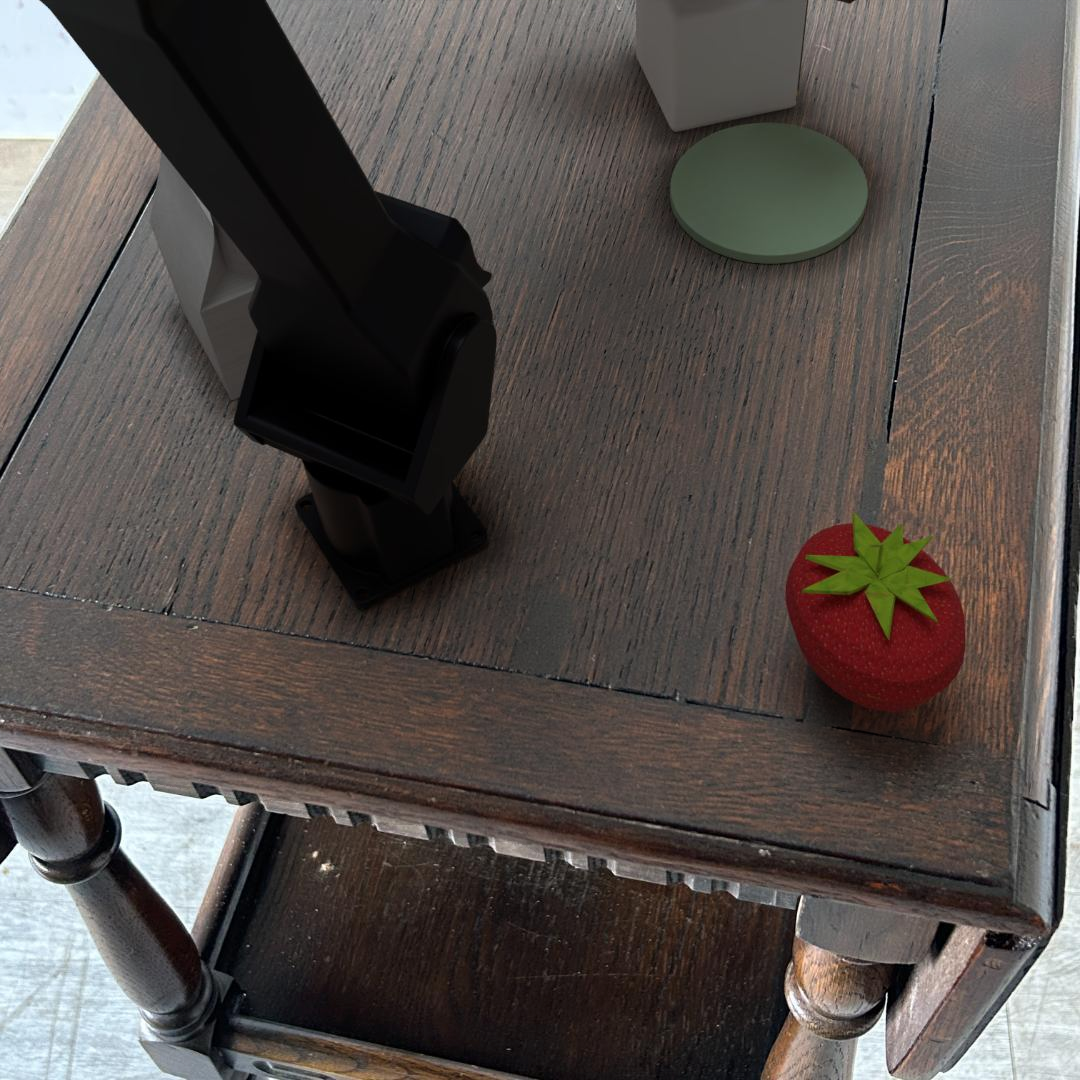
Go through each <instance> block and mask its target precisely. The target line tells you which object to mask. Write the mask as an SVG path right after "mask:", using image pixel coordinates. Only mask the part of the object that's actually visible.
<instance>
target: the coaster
mask: <svg viewBox="0 0 1080 1080" xmlns="http://www.w3.org/2000/svg"><path fill="white" fill-rule="evenodd" d="M868 197H869V187H868V181H867V178H866V175H865V172H864V170H863V168H862V166H861V164H860V163H859V161H858V160H857V159H856V157H855V156H854V155H853V154H852V153H851V152H850V151H849V150H848V149H847V148H845V146H843V145H842V144H840V143H839V142H838V141H836V140H834V139H832V138H831V137H829V136H827V135H825V134H823V133H821V132H818V131H816V130H814V129H813V130H812V129H809V128H806V127H803V126H799V125H794V124H788V123H782V122H781V123H780V122H754V123H744V124H739V125H734V126H730V127H727V128H723V129H721V130H718V131H715V132H713V133H710V134H709V135H707V136H705V137H703V138H702V139H700V140H698V141H697V142H695V143H694V144H693V145H692V146H691V147H689V148H688V149H687V150H686V151H685V152H684V153H683V155H682V156H680V158H679V159H678V161H677V163H676V165H675V166H674V169H673V170H672V174H671V177H670V183H669V201H670V205H671V210H672V213H673V215H674V218H675V219H676V221H677V223H678V224H679V225H680V227H681V228H682V229H683V231H685V233H686V234H687V235H688V236H690V237H691V238H692V239H693V240H694V241H696V242H697V243H698V244H700V245H701V246H702V247H704V248H706V249H708V250H710V251H712V252H714V253H715V254H716V253H717V254H719V255H722V256H724V257H726V258H730V259H734V260H737V261H741V262H746V263H752V264H753V263H754V264H766V265H767V264H769V265H770V264H771V265H772V264H773V265H774V264H775V265H776V264H777V265H778V264H789V263H794V262H800V261H805V260H808V259H812V258H814V257H818V256H820V255H823V254H825V253H827V252H829V251H831V250H833V249H835V248H837V247H838V246H839V245H841V244H842V243H844V241H846V240H847V239H848V238H849V237H850V236H851V235H852V234H854V232H855V231H856V229H857V228H858V227H859V225H860V224H861V222H862V219H863V217H864V215H865V213H866V208H867V203H868Z"/></svg>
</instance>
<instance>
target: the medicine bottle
mask: <svg viewBox="0 0 1080 1080" xmlns="http://www.w3.org/2000/svg"><path fill="white" fill-rule="evenodd" d="M808 8H809V0H635V56H636V59H637V61H638V63H639V65H640V68H641V69H642V72H643V74H644V76H645V78H646V80H647V82H648V84H649V86H650V88H651V91H652V92H653V94H654V95H653V96H655V99H656V101H657V103H658V105H659V108H660V109H661V111H662V114H663V116H664V118H665V120H666V122H667V124H668V126H669V128H670V130H671V131H672V132H675V133H678V132H682V131H687V130H692V129H696V128H701V127H706V126H711V125H716V124H721V123H725V122H729V121H735V120H739V119H743V118H749V117H754V116H757V115H763V114H768V113H773V112H777V111H782V110H786V109H787V110H788V109H792V108H794V107H796V105H797V103H798V97H799V88H800V80H801V79H800V78H801V71H802V69H801V68H802V61H803V53H804V43H805V35H806V25H807V17H808Z"/></svg>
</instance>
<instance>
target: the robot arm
mask: <svg viewBox="0 0 1080 1080" xmlns="http://www.w3.org/2000/svg"><path fill="white" fill-rule="evenodd" d="M38 1H39V2H40V3H42V4H43V5H44V6H45V7H46V8H47V9H48V10H49V11H50V12H51V13H52V15H53V16H54V17H55V19H56V20H57V21H58V22H59V24H60V25H61V26H62V27H63V28H64V30H65V31H66V32H67V33H68V35H69V36H70V37H71V39H72V40H73V41H74V43H76V45H77V46H78V48H79V49H80V50H81V51H82V52H83V54H84V55H85V57H86V58H87V59H88V60H89V62H90V63H91V64H92V65H93V67H94V68H95V69H96V70H97V72H99V74H100V76H101V77H102V78H103V79H104V80H105V82H106V83H107V84H108V86H110V87H109V88H111V90H112V91H113V92H114V93H115V94H116V96H117V97H118V98H119V99H120V101H121V102H122V104H124V106H125V107H126V108H127V110H128V111H129V112H130V114H131V115H132V116H133V117H134V119H135V120H136V121H137V123H138V124H139V125H140V127H141V128H142V129H143V130H144V131H145V133H146V134H147V136H148V137H150V139H151V140H152V142H154V144H155V145H156V147H157V148H158V149H159V150H160V152H161V151H162V153H163V154H164V155H165V156H166V158H167V159H168V160H169V161H170V163H171V164H172V165H173V167H174V168H175V169H176V170H177V172H178V173H179V174H180V175H181V177H182V178H183V179H184V180H185V182H186V183H187V184H188V186H189V187H190V188H191V189H192V191H193V192H194V193H195V194H196V196H197V197H198V198H199V199H200V201H201V202H202V203H203V205H204V206H205V207H206V208H207V210H208V211H209V212H210V213H211V215H212V216H213V217H214V219H215V220H216V221H217V222H218V224H219V225H220V226H221V227H222V229H223V230H224V231H225V232H226V234H227V235H228V236H229V238H230V239H231V240H232V241H233V243H234V244H235V245H236V246H237V248H238V249H239V250H240V251H241V253H242V254H243V255H244V257H245V258H246V259H247V260H248V262H249V263H250V264H251V265H252V267H253V268H254V269H255V271H256V272H257V274H258V276H259V277H258V280H257V283H256V285H255V288H254V291H253V294H252V296H251V299H250V302H249V305H248V311H249V314H250V317H251V319H252V321H253V323H254V325H255V327H256V329H257V335H256V338H255V342H254V346H253V350H252V353H251V357H250V361H249V365H248V368H247V372H246V376H245V379H244V383H243V387H242V391H241V394H240V398H238V402H237V406H236V410H235V413H234V417H233V425H234V426H235V428H237V430H239V431H240V432H241V433H242V434H244V435H245V436H246V437H247V438H248V439H249V440H250V441H252V442H254V443H256V444H259V445H261V446H268V447H271V448H274V449H276V450H278V451H281V452H283V453H285V454H287V455H290V456H293V457H295V458H296V459H300V460H301V462H302V465H303V469H304V471H305V475H306V478H307V480H308V481H307V482H308V484H309V486H310V490H311V492H309V493H307V494H306V495H305V494H304V495H303V496H301V497H300V498H298V499H297V500H296V501H295V504H294V508H295V511H296V514H297V517H298V519H300V521H301V523H302V524H303V526H304V527H305V530H306V531H307V533H308V534H309V536H310V538H311V539H312V541H313V542H314V544H315V546H316V547H317V549H318V550H319V552H320V554H321V555H322V557H323V558H324V560H325V562H326V563H327V565H328V566H329V567H330V570H331V571H332V573H333V574H334V575H335V577H336V579H337V581H338V582H339V584H340V585H341V587H342V589H343V590H344V592H345V593H346V595H347V597H348V598H349V600H350V601H351V603H352V605H353V606H354V607H355V608H358V609H361V610H362V609H368V608H371V607H372V606H374V605H376V604H378V603H380V602H382V601H384V600H386V599H387V598H390V597H391V596H394V595H395V594H397V593H399V592H401V591H403V590H405V589H407V588H409V587H411V586H413V585H415V584H417V583H419V582H420V581H422V580H425V579H426V578H428V577H430V576H432V575H434V574H435V573H437V572H439V571H442V570H443V569H445V568H448V567H449V566H451V565H453V564H455V563H457V562H459V561H461V560H463V559H464V558H466V557H468V556H471V555H472V554H475V553H476V552H478V551H480V550H482V549H483V548H485V547H487V545H488V544H489V540H490V539H489V532H488V530H487V529H486V527H485V525H484V524H483V523H482V521H481V519H480V518H479V517H478V516H477V514H476V513H475V512H474V510H473V509H472V508H471V506H470V505H469V503H468V502H467V501H466V499H465V498H464V496H463V495H462V493H461V492H460V491H459V489H458V488H457V487H456V485H455V484H454V481H455V480H456V479H457V477H458V476H459V474H460V473H461V472H462V470H463V469H464V467H466V464H467V463H468V461H469V460H470V459H471V457H472V456H473V455H474V453H475V452H476V450H477V449H478V448H479V446H480V445H481V443H482V442H483V441H484V440H485V438H486V436H487V434H488V430H489V423H490V422H489V421H490V411H491V403H492V395H493V394H492V393H493V386H494V385H493V384H494V375H495V364H496V356H497V346H498V345H497V344H498V335H497V329H496V326H495V325H494V315H493V310H492V306H491V303H490V299H489V296H488V294H487V292H486V291H485V290H484V288H485V287H486V286H487V285H488V284H489V283H490V281H491V280H492V272H491V271H487V270H485V269H483V268H482V266H481V265H480V264H479V262H478V260H477V257H476V255H475V251H474V246H473V243H472V239H471V236H470V234H469V232H468V231H467V230H466V228H465V227H464V226H463V225H462V223H461V222H460V221H459V220H458V219H457V218H456V217H452V216H450V215H447V214H444V213H441V212H438V211H435V210H433V209H429V208H427V207H424V206H420V205H418V204H415V203H411V202H409V201H407V200H406V201H405V200H403V199H400V198H397V197H394V196H393V195H388V194H386V193H382V192H380V191H378V190H375V189H374V187H373V186H372V184H371V182H370V181H369V179H368V177H367V175H366V173H365V171H364V170H363V168H362V166H361V165H360V163H359V161H358V159H357V158H356V156H355V154H354V152H353V151H352V149H351V147H350V145H349V144H348V141H347V140H346V138H345V137H344V135H343V133H342V131H341V130H340V127H339V126H338V124H337V123H336V120H335V119H334V117H333V115H332V114H331V112H330V110H329V109H328V107H327V105H326V103H325V101H324V99H323V98H322V95H321V94H320V93H319V91H318V89H317V87H316V86H315V84H314V82H313V80H312V79H311V76H310V75H309V73H308V71H307V70H306V68H305V66H304V65H303V62H302V61H301V59H300V57H299V55H298V53H297V52H296V50H295V49H294V47H293V45H292V43H291V41H290V40H289V38H288V36H287V34H286V33H285V31H284V29H283V28H282V26H281V24H280V22H279V20H278V19H277V17H276V15H275V14H274V12H273V10H272V8H271V7H270V4H269V3H268V1H267V0H38ZM836 1H837V2H841V3H844V4H849V5H851V4H852V3H854V2H855V1H856V0H836ZM306 507H309V508H307V509H304V508H306ZM475 536H480V538H478V539H475V538H474V537H475ZM363 594H366V597H364V598H360V596H361V595H363Z"/></svg>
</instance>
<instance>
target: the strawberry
mask: <svg viewBox="0 0 1080 1080" xmlns="http://www.w3.org/2000/svg"><path fill="white" fill-rule="evenodd" d="M851 515H852V518H851V519H852V522H850V523H841V524H835V525H831V526H829V527H826V528H823V529H821V530H819V531H818V532H816V533H815V534H813V535H812V536H810V537H809V538H808V540H806V542H805V543H804V544H803V545H802V547H801V548H800V550H799V551H798V553H797V555H796V557H795V559H794V560H793V562H792V565H791V566H790V568H789V570H788V574H787V578H786V582H785V604H786V610H787V613H788V618H789V621H790V624H791V627H792V630H793V633H794V636H795V639H796V642H797V644H798V647H799V649H800V652H801V654H802V655H803V657H804V659H805V660H806V661H807V663H808V665H809V667H810V668H811V669H812V670H813V671H814V673H815V674H816V675H817V676H818V677H819V678H820V680H821V681H823V682H824V683H825V684H826V685H827V686H828V687H830V688H831V689H832V690H833V691H834V692H836V693H837V694H839V695H840V696H841V697H843V698H845V699H846V700H848V701H850V702H853V703H855V704H857V705H860V706H861V707H865V708H868V709H870V710H871V709H872V710H875V711H879V712H880V711H881V712H891V713H893V712H903V711H909V710H912V709H914V708H915V709H916V708H918V707H920V706H922V705H923V704H925V703H926V702H927V701H929V700H930V699H932V698H934V697H935V696H936V695H938V694H939V693H941V692H942V691H944V690H945V689H946V688H948V687H949V686H950V685H951V684H952V683H953V681H954V680H955V679H956V678H957V676H958V675H959V672H960V671H961V668H962V666H963V663H964V660H965V659H964V658H965V652H966V622H965V619H966V618H965V612H964V609H963V606H962V602H961V598H960V596H959V594H958V592H957V590H956V588H955V586H954V584H953V582H952V580H954V578H951V577H948V575H947V574H946V572H945V571H944V570H943V568H942V567H941V566H940V565H939V564H938V563H937V562H936V561H935V560H934V559H933V558H932V557H931V556H930V554H928V553H927V552H926V551H924V550H923V549H924V548H925V547H926V546H927V545H928V543H930V541H932V539H934V535H931V536H928V537H925V538H920V539H918V540H915V541H910V540H909V539H907V538H905V537H904V531H903V523H900V524H898V526H896V528H895V529H893V531H891V530H888V529H886V528H884V527H879V526H875V525H871V524H867V523H866V524H865V523H864V522H863V521H862V519H861V518H860V516H858V514H856V512H855V511H853V512H852V514H851Z"/></svg>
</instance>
